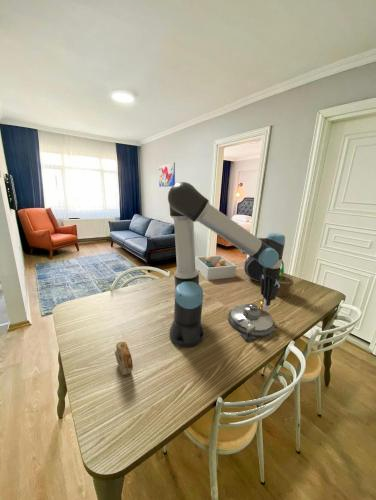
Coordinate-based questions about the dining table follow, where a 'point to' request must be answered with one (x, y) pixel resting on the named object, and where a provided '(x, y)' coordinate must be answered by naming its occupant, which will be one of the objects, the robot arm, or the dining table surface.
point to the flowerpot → (284, 283)
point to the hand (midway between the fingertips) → (265, 309)
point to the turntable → (260, 324)
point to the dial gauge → (250, 329)
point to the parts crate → (215, 268)
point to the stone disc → (123, 358)
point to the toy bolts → (209, 264)
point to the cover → (251, 312)
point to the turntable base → (256, 334)
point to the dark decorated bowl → (253, 269)
